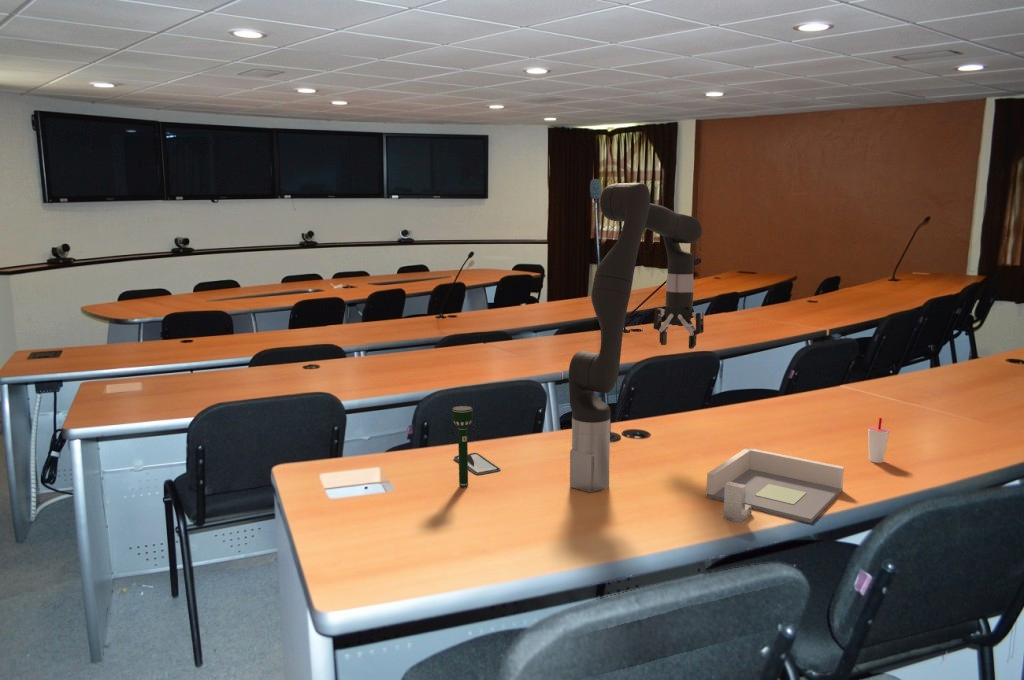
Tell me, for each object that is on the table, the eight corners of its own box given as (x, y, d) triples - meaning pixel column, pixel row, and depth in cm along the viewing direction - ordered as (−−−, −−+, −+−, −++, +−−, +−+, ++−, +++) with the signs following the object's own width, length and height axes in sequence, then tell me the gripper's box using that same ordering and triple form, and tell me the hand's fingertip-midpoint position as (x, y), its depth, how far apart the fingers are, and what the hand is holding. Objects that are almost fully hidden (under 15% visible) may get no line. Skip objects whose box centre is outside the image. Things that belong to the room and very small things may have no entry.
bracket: (740, 523, 163) (742, 488, 162) (723, 518, 166) (724, 483, 164) (751, 514, 168) (753, 480, 166) (734, 509, 170) (735, 476, 169)
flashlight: (457, 491, 182) (455, 411, 178) (450, 484, 186) (448, 406, 183) (477, 488, 184) (475, 409, 180) (469, 481, 188) (468, 404, 185)
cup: (889, 464, 199) (893, 421, 197) (867, 463, 200) (871, 419, 198) (884, 458, 204) (887, 415, 202) (862, 457, 205) (866, 414, 203)
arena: (810, 523, 163) (812, 497, 162) (706, 497, 177) (707, 473, 176) (842, 490, 181) (844, 466, 180) (745, 469, 196) (746, 447, 195)
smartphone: (476, 474, 192) (452, 456, 205) (476, 478, 193) (452, 459, 206) (502, 469, 196) (476, 452, 209) (502, 473, 196) (476, 455, 209)
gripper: (650, 289, 212) (648, 345, 215) (697, 292, 203) (695, 351, 206) (662, 287, 218) (660, 342, 220) (709, 290, 209) (706, 347, 212)
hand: (677, 346), depth 213 cm, fingers open, 8 cm apart
